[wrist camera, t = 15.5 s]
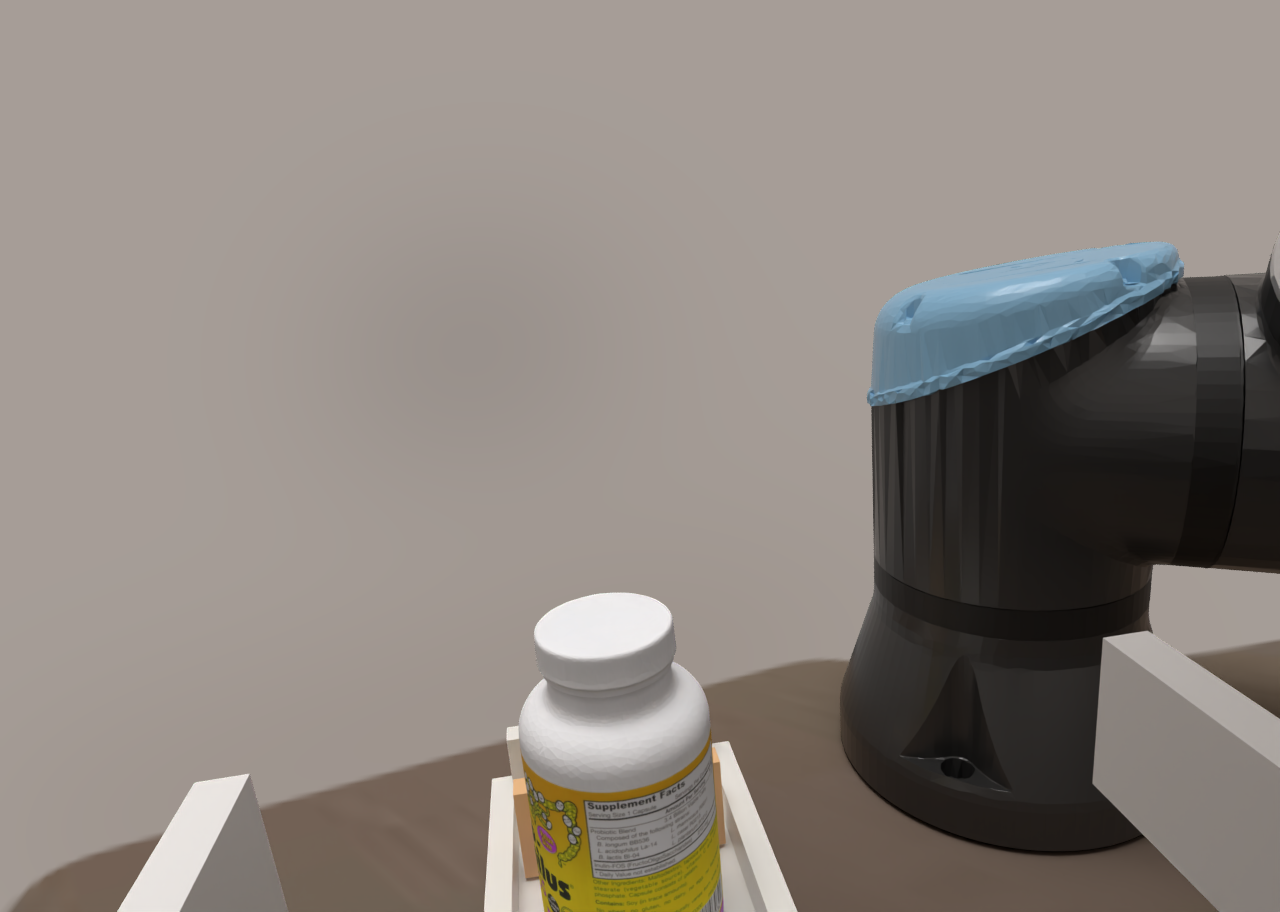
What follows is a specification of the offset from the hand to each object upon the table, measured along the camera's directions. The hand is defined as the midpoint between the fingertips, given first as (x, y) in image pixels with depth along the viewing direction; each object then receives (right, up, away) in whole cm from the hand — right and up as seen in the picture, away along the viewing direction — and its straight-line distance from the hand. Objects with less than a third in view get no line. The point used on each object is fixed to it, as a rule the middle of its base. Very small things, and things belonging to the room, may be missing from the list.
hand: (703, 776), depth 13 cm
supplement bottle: (-1, -13, +18) cm, 23 cm away
